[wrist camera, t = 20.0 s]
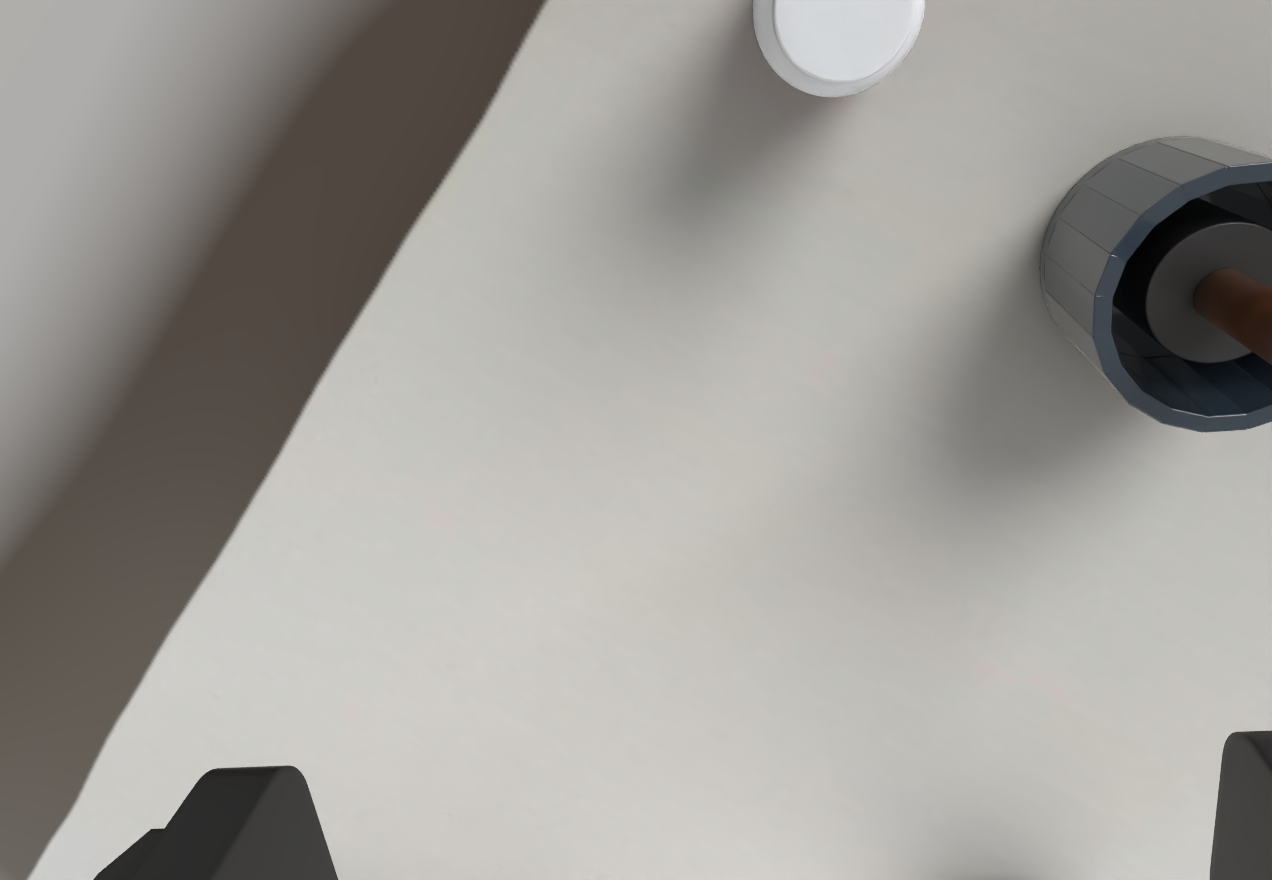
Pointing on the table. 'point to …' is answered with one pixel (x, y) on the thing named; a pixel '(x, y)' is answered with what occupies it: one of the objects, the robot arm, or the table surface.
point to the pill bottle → (836, 41)
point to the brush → (1202, 285)
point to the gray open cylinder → (1096, 257)
